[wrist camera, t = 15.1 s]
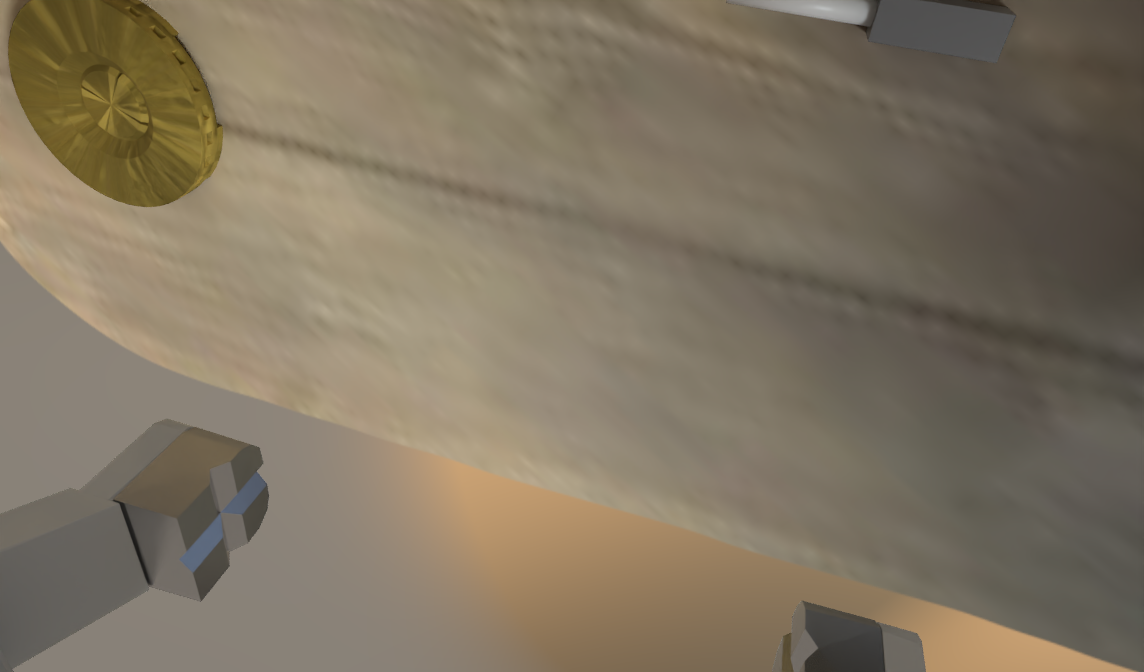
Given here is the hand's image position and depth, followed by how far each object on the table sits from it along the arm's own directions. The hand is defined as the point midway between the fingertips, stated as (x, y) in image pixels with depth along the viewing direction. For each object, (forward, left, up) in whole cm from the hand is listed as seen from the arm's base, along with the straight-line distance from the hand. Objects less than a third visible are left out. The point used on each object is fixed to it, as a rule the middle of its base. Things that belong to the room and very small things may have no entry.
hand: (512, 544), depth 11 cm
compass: (+33, +8, -30) cm, 45 cm away
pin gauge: (-6, -3, -29) cm, 30 cm away
